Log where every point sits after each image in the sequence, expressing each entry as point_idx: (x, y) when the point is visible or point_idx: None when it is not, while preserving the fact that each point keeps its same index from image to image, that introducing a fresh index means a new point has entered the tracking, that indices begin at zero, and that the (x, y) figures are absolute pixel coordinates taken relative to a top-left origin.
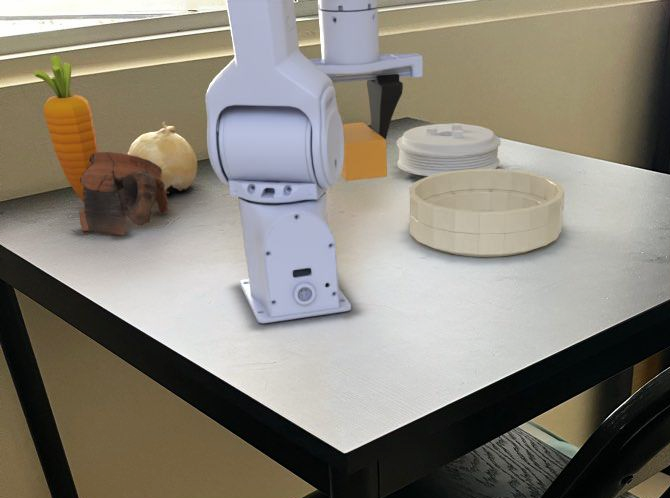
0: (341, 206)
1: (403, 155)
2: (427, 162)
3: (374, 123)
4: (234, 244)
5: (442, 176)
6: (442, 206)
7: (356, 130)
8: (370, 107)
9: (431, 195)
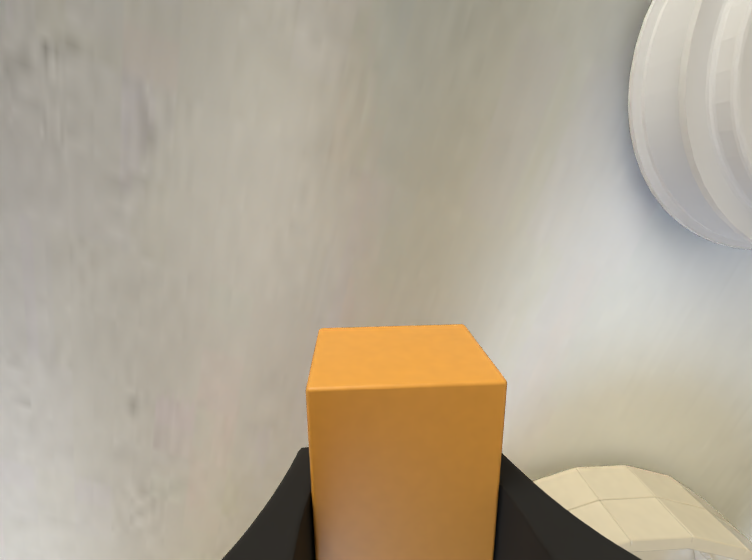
0: (355, 314)
1: (672, 74)
2: (697, 201)
3: (511, 554)
4: (61, 498)
5: None
6: None
7: (426, 519)
8: (544, 556)
9: None
